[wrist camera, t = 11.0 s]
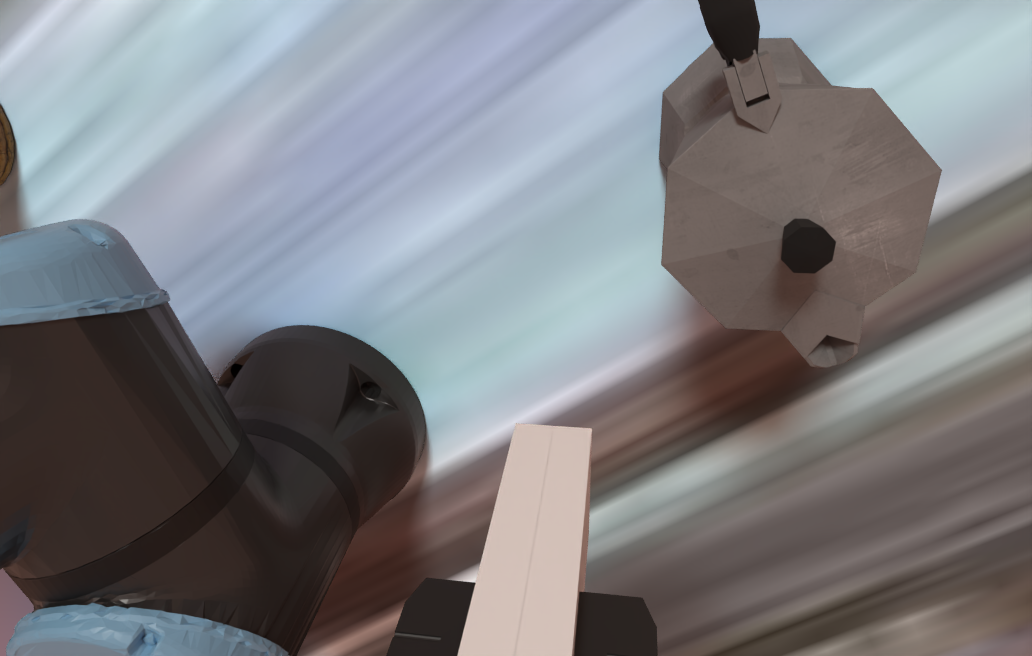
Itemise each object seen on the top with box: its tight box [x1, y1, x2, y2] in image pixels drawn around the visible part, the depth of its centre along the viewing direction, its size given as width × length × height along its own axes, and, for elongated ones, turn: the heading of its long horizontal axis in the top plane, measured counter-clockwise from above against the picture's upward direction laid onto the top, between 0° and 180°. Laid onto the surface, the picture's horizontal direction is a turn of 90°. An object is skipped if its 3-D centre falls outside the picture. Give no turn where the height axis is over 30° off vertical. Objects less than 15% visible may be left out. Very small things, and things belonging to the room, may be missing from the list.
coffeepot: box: [659, 0, 942, 368], centre depth 29 cm, size 15×9×18 cm, turn 25°
